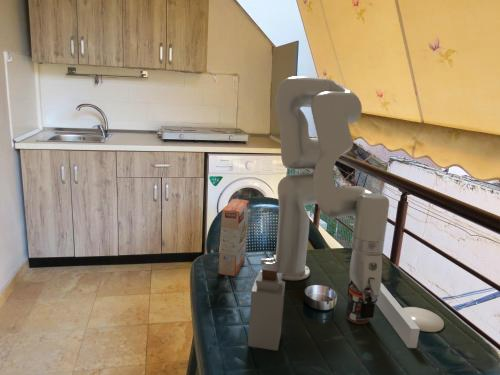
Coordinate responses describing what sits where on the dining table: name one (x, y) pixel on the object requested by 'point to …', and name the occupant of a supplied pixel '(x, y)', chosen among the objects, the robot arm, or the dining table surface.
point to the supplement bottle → (355, 305)
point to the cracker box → (233, 236)
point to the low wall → (398, 318)
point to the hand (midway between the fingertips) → (359, 306)
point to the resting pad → (425, 319)
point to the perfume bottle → (266, 309)
